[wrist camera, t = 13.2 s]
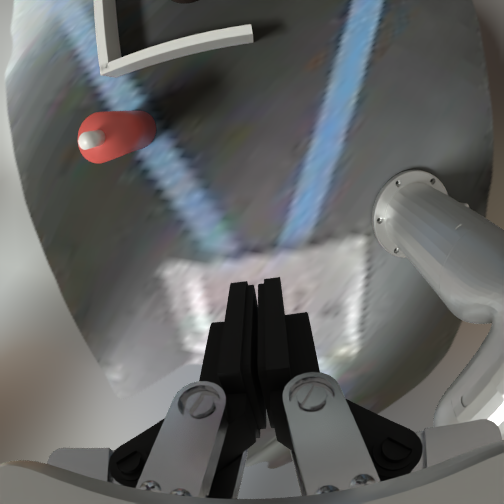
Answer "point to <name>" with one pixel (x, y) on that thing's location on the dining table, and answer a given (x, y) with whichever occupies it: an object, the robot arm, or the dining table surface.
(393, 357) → the dining table surface
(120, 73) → the open u-shaped frame
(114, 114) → the squeeze bottle
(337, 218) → the dining table surface
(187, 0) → the coffee mug
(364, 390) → the dining table surface
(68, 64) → the dining table surface
